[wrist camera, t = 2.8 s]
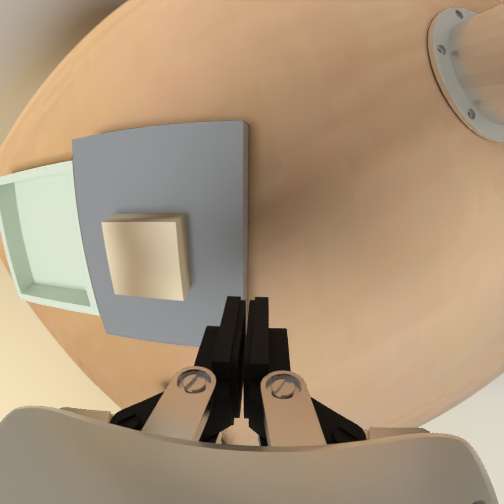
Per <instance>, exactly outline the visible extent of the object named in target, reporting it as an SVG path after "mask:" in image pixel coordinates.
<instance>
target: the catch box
mask: <svg viewBox="0 0 504 504" xmlns="http://www.w3.org/2000/svg"><path fill="white" fill-rule="evenodd" d="M0 231H1V236H2V240H3V245H4V249H5V253H6V257H7V261H8V264H9V268H10V271H11V275H12V278H13V281H14V284H15V287H16V290H17V293H18V296H19V299H21V300H25V301H30V302H34V303H38V304H43V305H47V306H52V307H56V308H61V309H66V310H71V311H76V312H82V313H87V314H93V315H99V316H100V315H101V314H100V311H99V308H98V304H97V300H96V297H95V293H94V289H93V285H92V281H91V277H90V273H89V268H88V264H87V259H86V254H85V249H84V244H83V239H82V233H81V227H80V220H79V214H78V206H77V198H76V189H75V179H74V166H73V160H71V161H65V162H60V163H55V164H50V165H45V166H41V167H36V168H32V169H28V170H24V171H20V172H16V173H12V174H8V175H5V176H1V177H0Z"/></svg>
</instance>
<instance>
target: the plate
mask: <svg viewBox="0 0 504 504" xmlns="http://www.w3.org/2000/svg"><path fill="white" fill-rule="evenodd" d="M248 133H249V124H247V123H246V122H245V121H243V120H241V121H208V122H191V123H178V124H167V125H158V126H149V127H141V128H134V129H127V130H121V131H114V132H109V133H103V134H98V135H92V136H87V137H83V138H78V139H74V140H72V147H73V166H74V179H75V189H76V198H77V206H78V214H79V220H80V227H81V233H82V239H83V244H84V249H85V254H86V259H87V264H88V268H89V273H90V277H91V281H92V285H93V289H94V293H95V297H96V300H97V304H98V308H99V311H100V314H101V318H102V321H103V324H104V327H105V331H106V334H111V335H116V336H122V337H127V338H133V339H140V340H146V341H153V342H160V343H168V344H176V345H184V346H193V347H200V345H201V341H202V338H203V335H204V332H205V329H206V326H220V324H221V320H222V316H223V312H224V308H225V304H226V300H227V296H241V300H246V332H247V323H248ZM128 213H186V220H187V235H188V249H189V261H190V272H191V283H192V286H191V288H190V290H189V292H188V293H187V295H186V297H185V299H184V301H179V300H167V299H156V298H146V297H136V296H126V295H117V294H115V292H114V288H113V284H112V279H111V274H110V269H109V264H108V259H107V254H106V248H105V242H104V236H103V229H102V223H101V222H103V221H105V220H106V219H108V218H110V217H112V216H114V215H116V214H128Z"/></svg>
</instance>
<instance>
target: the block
mask: <svg viewBox="0 0 504 504" xmlns="http://www.w3.org/2000/svg"><path fill="white" fill-rule="evenodd" d="M101 223H102V229H103V236H104V242H105V248H106V254H107V259H108V264H109V269H110V274H111V279H112V284H113V288H114V292H115V294H117V295H126V296H136V297H146V298H156V299H167V300H179V301H184V299H185V297H186V295H187V293H188V292H189V290H190V288H191V286H192V283H191V272H190V261H189V249H188V235H187V220H186V213H128V214H116V215H114V216H112V217H110V218H108V219H106V220H105V221H103V222H101Z"/></svg>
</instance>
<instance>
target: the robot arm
mask: <svg viewBox="0 0 504 504" xmlns="http://www.w3.org/2000/svg"><path fill="white" fill-rule="evenodd" d="M428 49H429V56H430V60H431V65H432V68H433V71H434V74H435V76H436V79H437V82H438V84H439V86H440V88H441V90H442V92H443V94H444V96H445V98H446V99H447V101H448V103H449V104H450V106H451V108H452V109H453V110H454V112H455V113H456V114H457V116H458V117H459V118H460V119H461V120H462V121H463V122H464V124H465V125H466V126H467V127H468V128H469V129H471V130H472V131H473V132H475V133H476V134H477V135H479V136H481V137H483V138H485V139H487V140H491V141H496V142H504V3H503V4H500V5H498V6H496V7H493V8H491V9H489V10H486V11H484V12H482V13H480V14H478V13H476V12H474V11H472V10H469V9H466V8H461V7H451V8H448V9H446V10H444V11H442V12H441V13H439V14H438V15H437V16H436V17H435V18H434V19H433V21H432V23H431V25H430V28H429V33H428ZM243 388H244V418H249V427H250V428H251V429H252V430H254V431H255V432H256V433H257V434H258V441H259V446H244V445H229V444H219V443H220V440H221V437H222V431H223V430H224V429H226V428H228V427H229V426H231V425H233V424H234V418H240V410H241V400H242V390H243ZM0 504H498V500H497V497H496V494H495V491H494V488H493V486H492V483H491V481H490V478H489V476H488V474H487V471H486V469H485V467H484V465H483V463H482V461H481V459H480V458H479V456H478V454H477V453H476V451H475V450H474V448H473V447H472V446H471V445H470V444H469V443H468V442H467V441H465V440H464V439H462V438H460V437H458V436H454V435H449V434H439V433H430V432H429V431H427V430H425V429H423V428H378V427H370V428H369V430H363V429H362V428H361V427H359V426H358V425H357V424H355V423H353V422H352V421H350V420H348V419H346V418H345V417H343V416H341V415H339V414H338V413H336V412H334V411H333V410H331V409H329V408H328V407H326V406H325V405H323V404H321V403H320V402H318V401H316V400H315V399H313V398H312V397H310V394H309V392H308V389H307V386H306V383H305V381H304V380H303V378H302V377H300V376H299V375H298V374H296V373H294V372H291V371H290V359H289V348H288V337H287V329H286V328H269V308H268V297H255V300H250V304H249V313H248V323H247V332H246V300H241V296H227V300H226V304H225V308H224V312H223V316H222V320H221V324H220V326H206V329H205V332H204V335H203V338H202V341H201V345H200V348H199V351H198V354H197V358H196V361H195V364H194V366H191V367H186V368H183V369H181V370H180V371H178V372H177V373H176V374H175V375H174V376H173V378H172V380H171V381H170V383H169V385H168V386H167V388H166V390H165V391H164V392H162V393H160V394H158V395H155V396H153V397H151V398H149V399H146V400H144V401H142V402H140V403H137V404H135V405H132V406H130V407H128V408H125V409H123V410H121V411H119V412H117V413H116V414H115V415H114V414H111V413H110V411H97V410H86V409H77V408H69V407H64V408H60V409H57V408H52V407H45V406H24V407H19V408H16V409H14V410H13V411H11V412H10V413H9V414H8V415H7V416H6V417H5V418H4V419H3V420H2V421H1V422H0Z"/></svg>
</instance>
